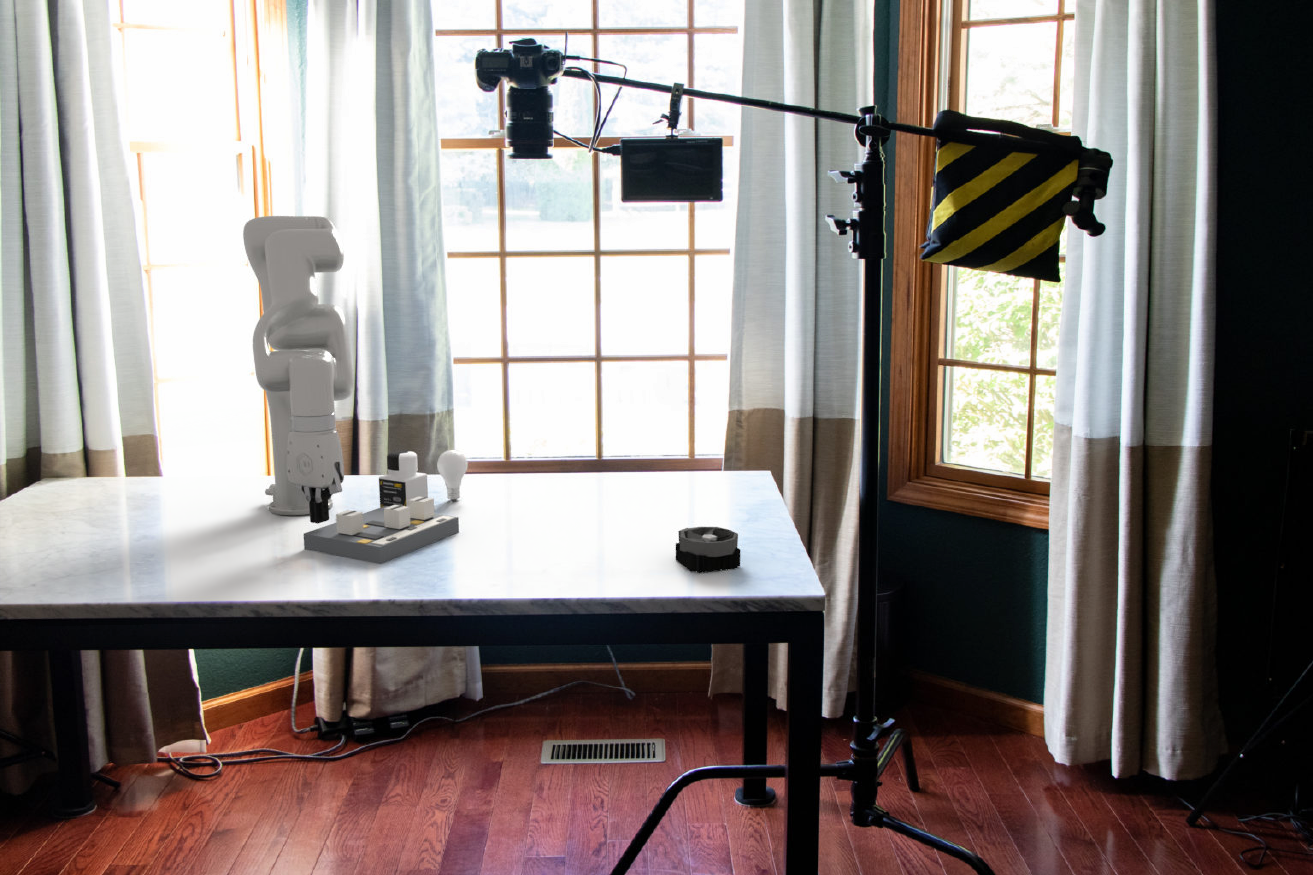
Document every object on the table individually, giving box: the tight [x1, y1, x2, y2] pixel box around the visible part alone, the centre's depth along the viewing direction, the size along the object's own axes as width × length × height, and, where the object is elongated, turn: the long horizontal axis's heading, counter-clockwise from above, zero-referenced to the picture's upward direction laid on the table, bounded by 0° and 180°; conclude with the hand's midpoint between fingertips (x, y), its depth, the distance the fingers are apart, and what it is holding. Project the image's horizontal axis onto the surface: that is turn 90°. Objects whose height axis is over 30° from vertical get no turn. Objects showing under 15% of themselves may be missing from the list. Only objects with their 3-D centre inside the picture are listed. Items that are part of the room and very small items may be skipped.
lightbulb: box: [436, 449, 469, 502], centre depth 230 cm, size 6×6×11 cm
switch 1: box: [335, 509, 363, 535], centre depth 195 cm, size 4×3×4 cm
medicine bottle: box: [378, 450, 429, 508], centre depth 223 cm, size 7×7×12 cm
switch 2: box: [384, 505, 410, 529], centre depth 199 cm, size 4×3×4 cm
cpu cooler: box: [675, 526, 741, 574], centre depth 188 cm, size 10×6×10 cm
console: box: [303, 506, 460, 565], centre depth 201 cm, size 18×22×3 cm
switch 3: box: [409, 496, 435, 520], centre depth 205 cm, size 4×3×4 cm
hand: (319, 521), depth 199 cm, fingers closed
